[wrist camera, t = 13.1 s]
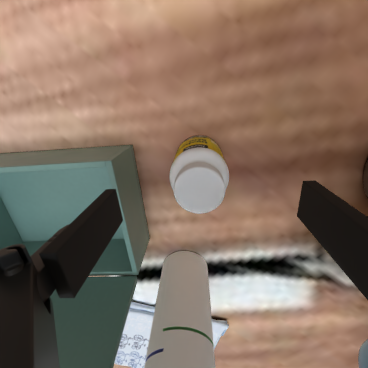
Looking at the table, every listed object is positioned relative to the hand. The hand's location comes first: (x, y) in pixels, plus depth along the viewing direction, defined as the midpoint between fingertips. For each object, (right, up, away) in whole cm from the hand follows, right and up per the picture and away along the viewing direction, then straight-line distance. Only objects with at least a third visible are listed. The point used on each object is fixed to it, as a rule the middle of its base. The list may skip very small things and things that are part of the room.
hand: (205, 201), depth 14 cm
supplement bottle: (0, +5, +10) cm, 11 cm away
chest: (-17, -1, +13) cm, 22 cm away
